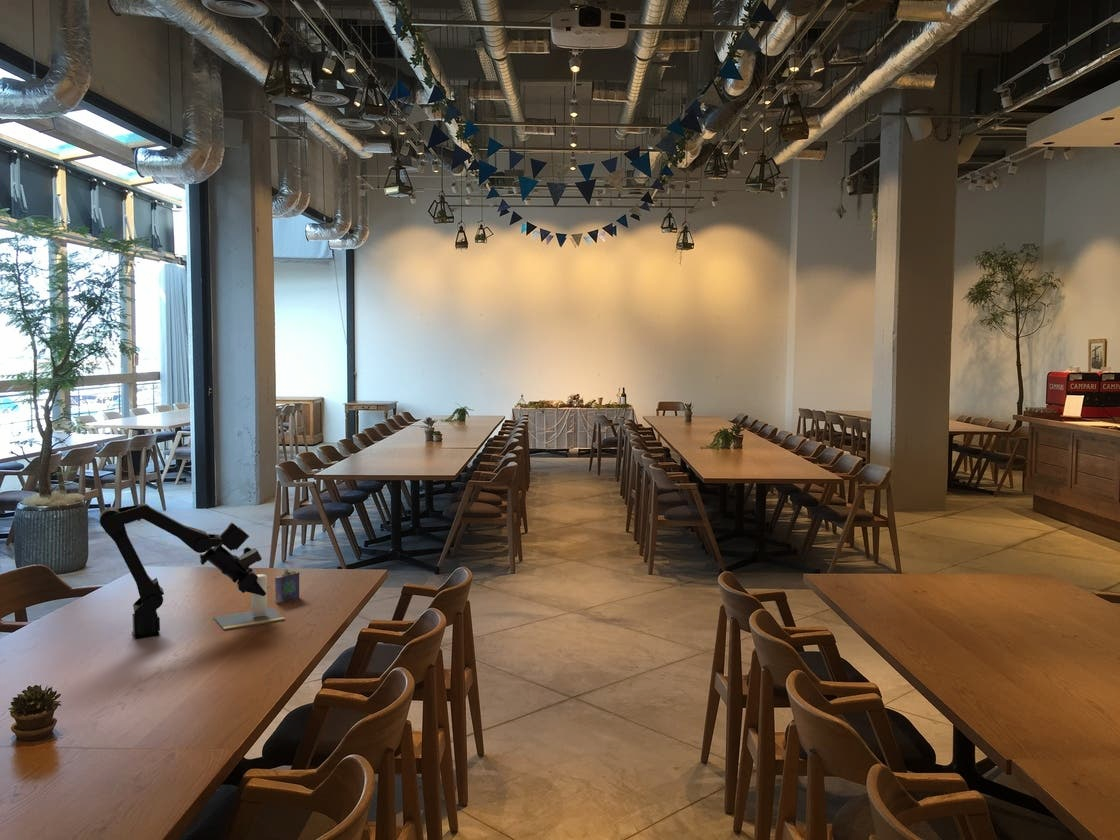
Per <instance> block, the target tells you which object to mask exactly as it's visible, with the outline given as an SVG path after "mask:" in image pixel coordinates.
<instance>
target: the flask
mask: <svg viewBox="0 0 1120 840" xmlns="http://www.w3.org/2000/svg"><path fill="white" fill-rule="evenodd" d="M282 571H284V572H283V574H281V575H277V576H275V577H274V581H275V582H274V583H275V587H274V589H275V600H274V601H275V604H276V605H280V604H284V603H288V602H291V601H295V600H296V601H297V600H299V599H300V572H299V571H294V570H292V571H289V569H288V568H284V569H283V570H282Z"/></svg>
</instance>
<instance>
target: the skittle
mask: <svg viewBox="0 0 1120 840" xmlns="http://www.w3.org/2000/svg"><path fill="white" fill-rule="evenodd" d="M256 575H257V576H258V578H257V582H258V584H259V585H260V586H261V587H262V589H263V590H264V591H265V592H266V595H265V596H261V595H258V594H254V593H250V594H251V596H250V597H251V611H252V616H264V615H267V608H268V580H267V579H268V576H267V574H262V573H261V574H256Z"/></svg>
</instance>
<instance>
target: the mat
mask: <svg viewBox="0 0 1120 840" xmlns="http://www.w3.org/2000/svg"><path fill="white" fill-rule="evenodd" d="M213 620H214V621H215V622H216V623H217V624H218V625H219V627H220V628H221V629H222V630H223V631H229V630H236V629H241V628H247V627H253V626H254V627H255V626H259V625H265V624H266V625H267V624H271V623H277V622H283V621H286V618H285V617H284V616H283V615H281V614H280V613H279V611H277V610H276V609H274V608H273V607H267V615H264V616H252V610H250V611H243V612H238V613H236V612H235V613H229V614H224V615H223V614H222V615H217V616H213Z"/></svg>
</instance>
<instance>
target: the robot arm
mask: <svg viewBox="0 0 1120 840" xmlns="http://www.w3.org/2000/svg"><path fill="white" fill-rule="evenodd" d="M139 520H144V521H146V522H148V523H150V524H152V525H154V526H155V527H158V528H160V529H161V530H163V531H165V532H167V533H169V534H170V535H172V536H174V537H176V538H177V539H180V540H181V541H182V542H183V543H184V544H185V545H187V547H189V548H190V549H192V551H194V552H195V553H198V554H199V558H200V559H199V562H200V564H201V565H202V566H203V565H205V563H207V562H209V563H210V564H211V565H213V566H214V567H215V568H216V569H218V570H219V571H220V572H221V573H222V574H223V575H225V576H226V577H228V578H229V579H230V580H231V581H232V582H233V583H234V584H235V583H236V587H237V588H236V589H238V591H240V592H241V593H242V594H244V593H245V592H246V593H250V594H251V593H254V594H258V595H261V596H265V595H266V592H265V591H264V590H263V589H262V587H261V586H260V585H259V584H258V582H257V578H258V576H257V575H258V574H257V573H255V572H254V571H253V569H252V567H250V566H252V565H253V564H256V563H258V562H261V561H262V559H263V558H262V556H261V554H260V553H259V550H258V549H257V548H255V547H253V548H250V547H249V546H247V547H244V548H243V551H242V554H241V555H240V556H237V555H236V554H232V553H231V552H232V551H234V550H236V551H237V550H238V549H239V548H240V547H241V546H242V545H243V544H244V543H245V542H246V541H247V540H248V538H250V534H248V533H247V532H246V531H244V529H242V527H239V526H238V525H236V524H235V523H234V522H230V523H229V524H228V526H227V527H226V528H225V530H224V531H223V532H222V533H220V534H219V533H218V534H216V533H210V534H209V533H207V531H204V530H202V529H198V528H196V527H193V526H188V525H185V524H182V523H181V522H179V521H177V520H175V519H174V518H172V517H170V516H168V515H166V514H164V513H162V512H161V511H158V510H157V509H155V508H153V507H152V506H150V505H149V504H147V503H144V502H143V503H142V502H141V503H139V504H135V505H129V506H122V507H113V506H110V507H106V508H105V509H103V510H102V511H101V512H100V514H99V524H100V527H102V529H103V530H104V531H105V533H106V534H107V535H108V536H109V538H111V539H112V540H113V542H114V544H115V545H116V547H117V548H118V551H119V553H120V555H121V557H122V559H123V560H124V563H125V564H126V567H127V568H128V570H129V573H130V574H131V576H132V578H133V580H134V582H135V583H136V588H137V592H138V595H139V598H138V599H137V600H136V601H135V602H134V603H133V604H132V607H133V613H132V615H131V617H132V631H131V634H132V636H133V638H134V639H142V638H147V637H154V636H158V635H160V631H161V622H160V620H161V619H160V616H159V614H158V612H157V610H158V609H159V608H161V606H162V605H163V603H164V597H163V595H165V592H164V588H163V587H161V586H160V584H159V583H160V582H159V581H158V577H155V578H153V579H152V578H151V576H149V574H148V573H147V571H146V569H145V566H144V564H143V562H142V561H141V559H140V557H139V554H138V553H137V551H136V549H135V547H134V545H133V543H132V542H131V539H130V537H129V535H128V533H127V529H126V525H127V524H130V523H133V522H136V521H139ZM223 546H224V547H223ZM225 547H226V548H227V549H226V548H225ZM228 550H229V551H228ZM202 553H203V554H202Z"/></svg>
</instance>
